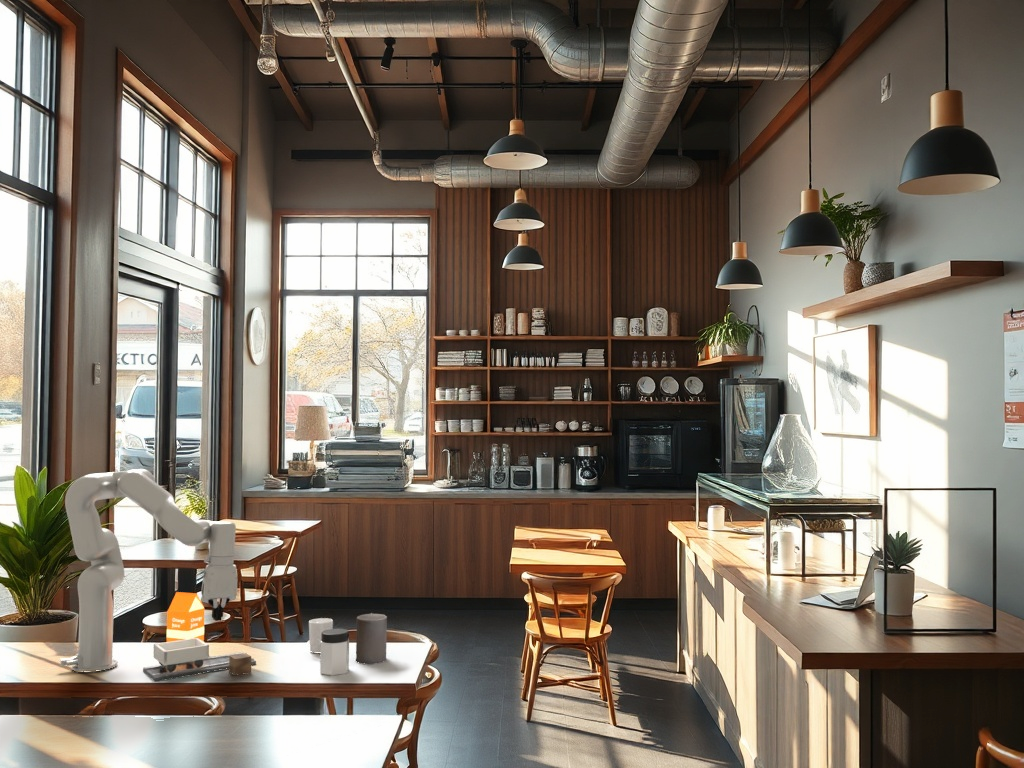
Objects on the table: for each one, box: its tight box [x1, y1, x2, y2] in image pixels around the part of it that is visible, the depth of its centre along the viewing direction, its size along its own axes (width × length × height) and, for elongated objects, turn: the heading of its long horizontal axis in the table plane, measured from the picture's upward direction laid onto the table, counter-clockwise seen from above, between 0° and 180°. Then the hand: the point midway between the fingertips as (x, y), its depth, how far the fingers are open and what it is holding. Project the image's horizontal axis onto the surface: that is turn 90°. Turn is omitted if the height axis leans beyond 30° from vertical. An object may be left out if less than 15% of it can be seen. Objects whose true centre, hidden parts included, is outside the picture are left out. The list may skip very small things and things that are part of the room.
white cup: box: [308, 617, 334, 653], centre depth 276 cm, size 8×8×10 cm
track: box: [142, 651, 257, 682], centre depth 257 cm, size 30×14×1 cm, turn 127°
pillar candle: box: [355, 612, 388, 665], centre depth 265 cm, size 10×10×15 cm
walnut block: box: [228, 652, 252, 676], centre depth 251 cm, size 5×5×5 cm
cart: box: [153, 638, 210, 672], centre depth 253 cm, size 13×12×6 cm
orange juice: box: [166, 591, 205, 642], centre depth 274 cm, size 8×9×20 cm
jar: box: [319, 628, 350, 677], centre depth 252 cm, size 9×8×12 cm
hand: (217, 619), depth 261 cm, fingers closed
